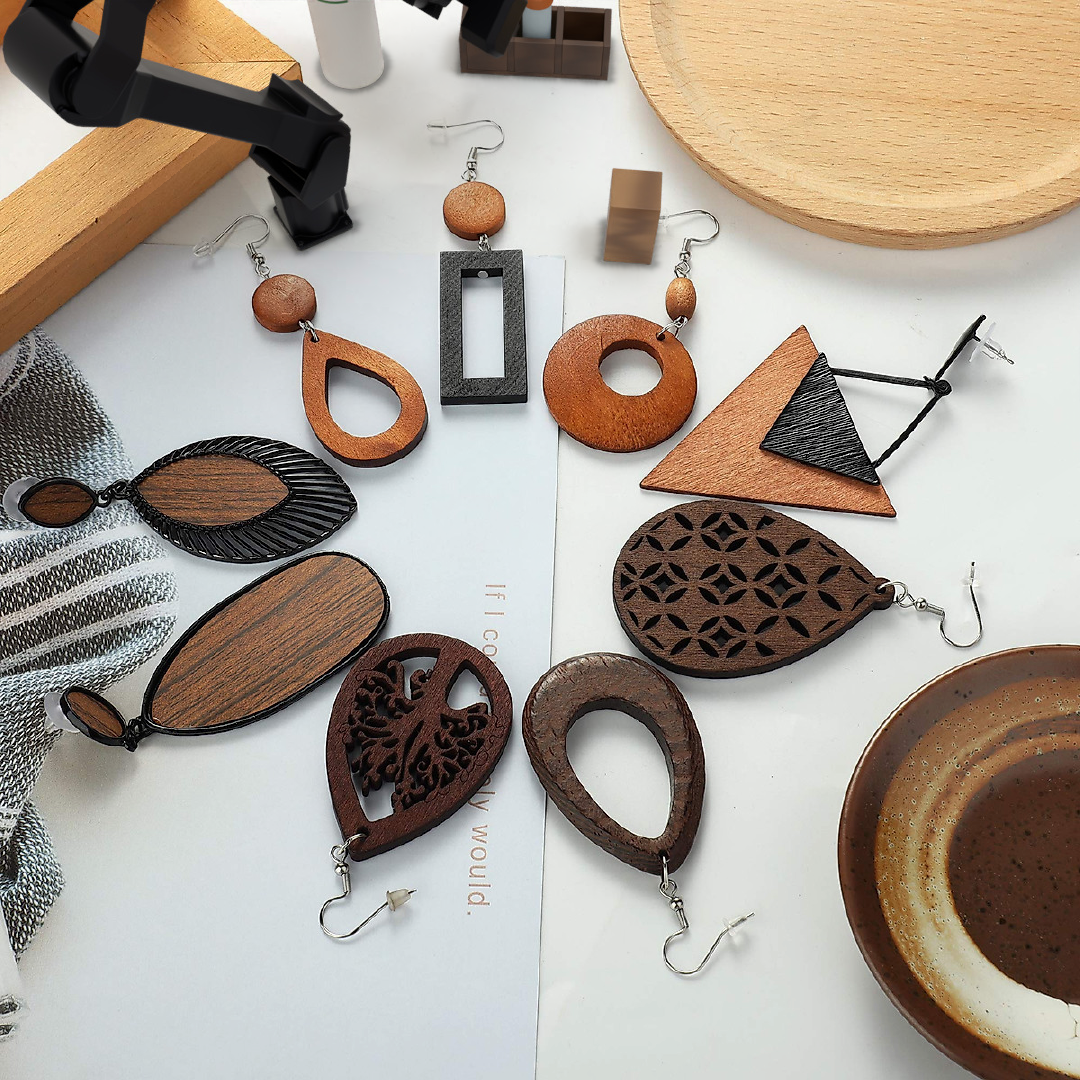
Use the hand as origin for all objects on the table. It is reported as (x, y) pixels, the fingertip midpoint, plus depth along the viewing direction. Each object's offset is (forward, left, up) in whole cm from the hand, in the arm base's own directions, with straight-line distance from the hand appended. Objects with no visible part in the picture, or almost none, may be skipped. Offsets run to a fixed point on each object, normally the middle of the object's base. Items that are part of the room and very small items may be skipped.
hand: (484, 11), depth 102 cm
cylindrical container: (-11, +12, -11) cm, 19 cm away
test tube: (+8, +2, -10) cm, 13 cm away
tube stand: (+2, -26, -11) cm, 28 cm away
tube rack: (+8, +2, -11) cm, 13 cm away
